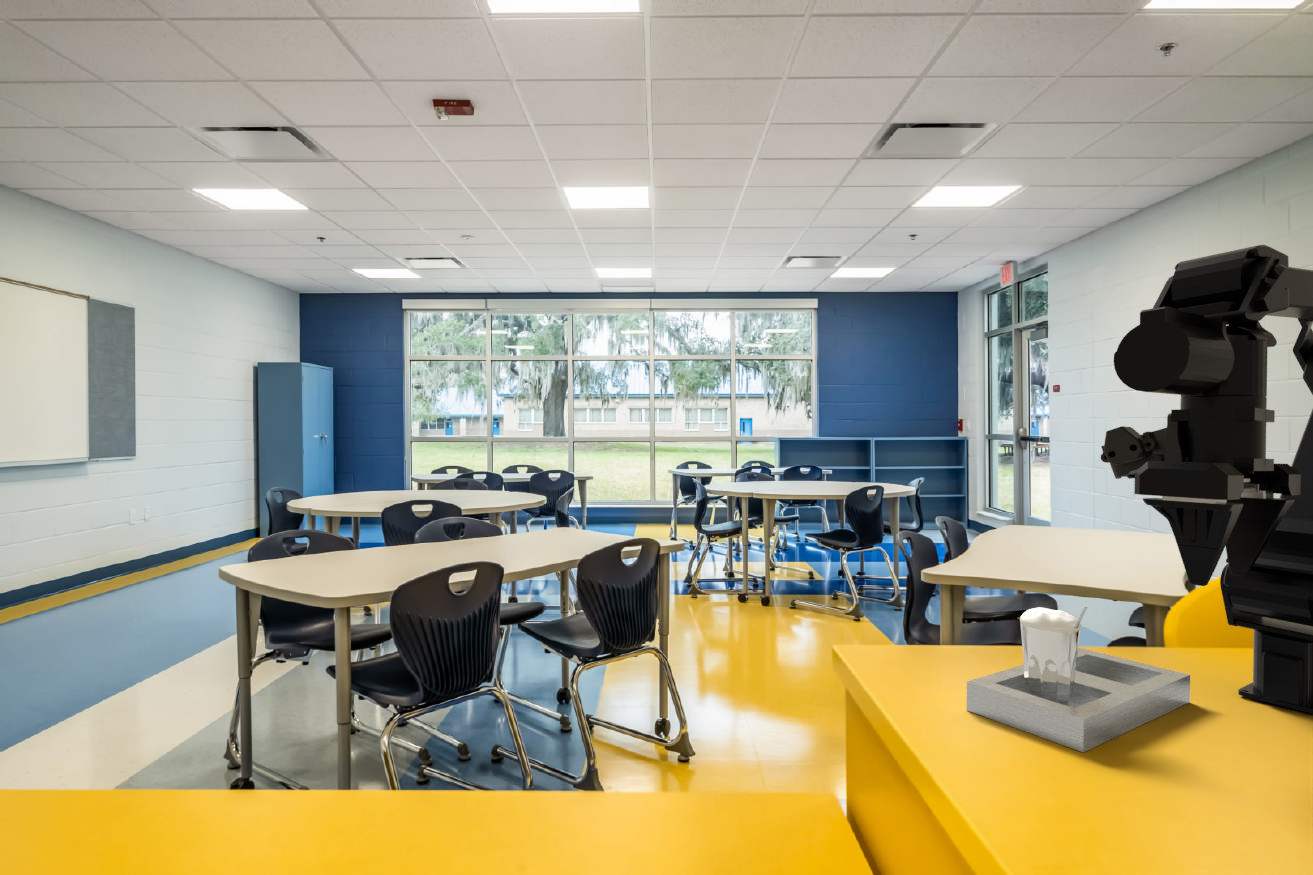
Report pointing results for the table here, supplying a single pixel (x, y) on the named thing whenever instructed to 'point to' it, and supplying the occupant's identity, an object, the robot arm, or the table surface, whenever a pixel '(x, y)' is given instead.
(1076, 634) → the milkshake
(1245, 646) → the table surface
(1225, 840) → the table surface
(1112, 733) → the block
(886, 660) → the table surface
